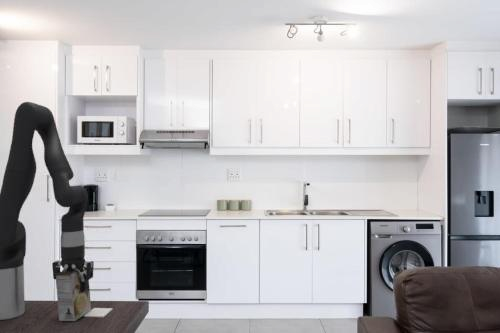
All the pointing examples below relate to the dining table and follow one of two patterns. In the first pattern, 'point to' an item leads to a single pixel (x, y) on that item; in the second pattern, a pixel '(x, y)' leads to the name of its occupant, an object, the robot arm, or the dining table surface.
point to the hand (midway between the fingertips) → (73, 291)
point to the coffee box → (71, 296)
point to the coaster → (98, 312)
